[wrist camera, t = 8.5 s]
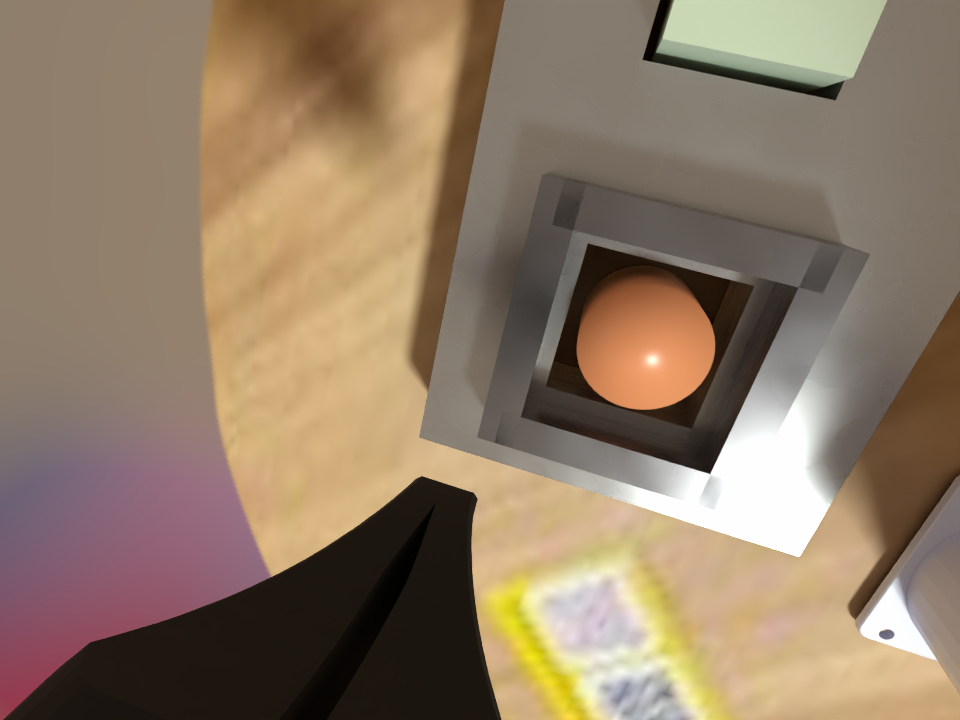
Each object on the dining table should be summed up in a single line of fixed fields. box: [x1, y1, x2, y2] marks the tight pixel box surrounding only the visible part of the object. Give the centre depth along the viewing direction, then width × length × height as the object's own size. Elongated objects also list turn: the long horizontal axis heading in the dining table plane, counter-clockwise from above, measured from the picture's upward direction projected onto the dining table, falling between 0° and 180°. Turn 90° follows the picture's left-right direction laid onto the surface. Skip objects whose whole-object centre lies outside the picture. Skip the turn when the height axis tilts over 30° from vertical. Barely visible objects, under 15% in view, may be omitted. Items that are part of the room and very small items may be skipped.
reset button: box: [577, 266, 715, 410], centre depth 17 cm, size 4×4×3 cm
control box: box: [419, 0, 960, 556], centre depth 15 cm, size 14×22×4 cm, turn 168°
